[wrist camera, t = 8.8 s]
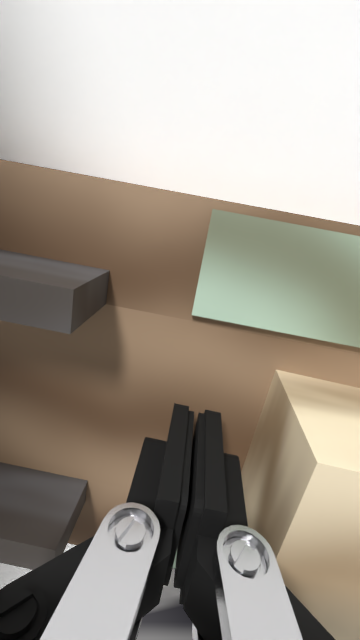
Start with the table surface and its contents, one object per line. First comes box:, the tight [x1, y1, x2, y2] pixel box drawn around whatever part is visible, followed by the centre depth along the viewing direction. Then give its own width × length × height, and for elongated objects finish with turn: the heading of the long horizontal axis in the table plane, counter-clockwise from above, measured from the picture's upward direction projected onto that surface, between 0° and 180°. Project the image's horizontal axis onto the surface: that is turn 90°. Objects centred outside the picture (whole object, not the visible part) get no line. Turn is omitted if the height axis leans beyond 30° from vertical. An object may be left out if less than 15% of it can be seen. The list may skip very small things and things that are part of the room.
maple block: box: [241, 370, 360, 640], centre depth 10 cm, size 6×6×4 cm
